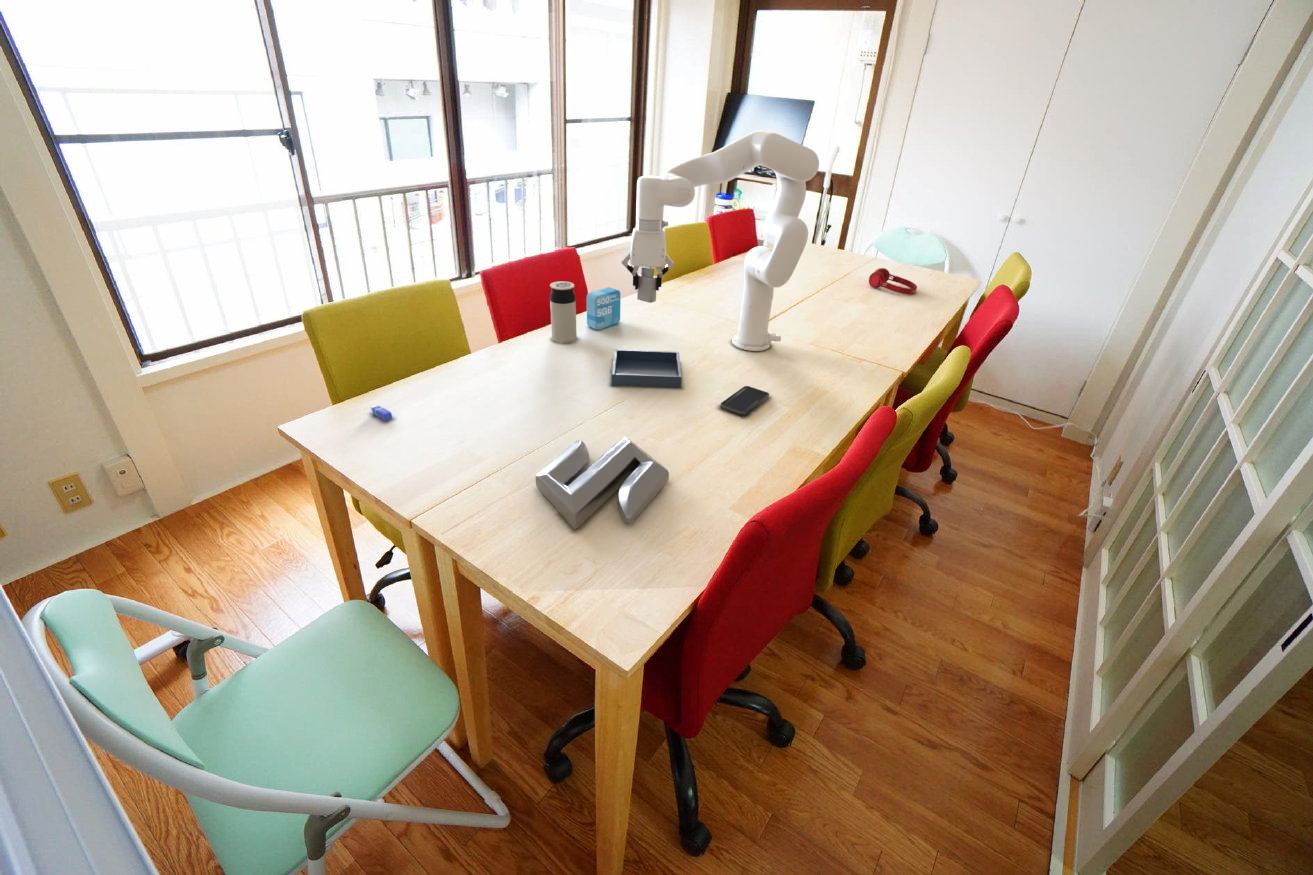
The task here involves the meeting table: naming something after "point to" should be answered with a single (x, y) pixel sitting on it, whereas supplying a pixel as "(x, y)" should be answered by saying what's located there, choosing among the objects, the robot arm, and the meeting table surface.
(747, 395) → the phone
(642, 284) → the power adapter
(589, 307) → the data package
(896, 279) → the headphones
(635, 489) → the emblem
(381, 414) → the eraser
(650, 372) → the tray
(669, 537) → the meeting table surface
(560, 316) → the travel mug
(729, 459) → the meeting table surface
